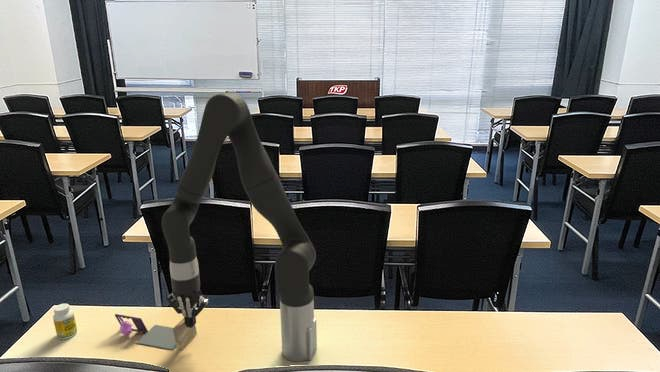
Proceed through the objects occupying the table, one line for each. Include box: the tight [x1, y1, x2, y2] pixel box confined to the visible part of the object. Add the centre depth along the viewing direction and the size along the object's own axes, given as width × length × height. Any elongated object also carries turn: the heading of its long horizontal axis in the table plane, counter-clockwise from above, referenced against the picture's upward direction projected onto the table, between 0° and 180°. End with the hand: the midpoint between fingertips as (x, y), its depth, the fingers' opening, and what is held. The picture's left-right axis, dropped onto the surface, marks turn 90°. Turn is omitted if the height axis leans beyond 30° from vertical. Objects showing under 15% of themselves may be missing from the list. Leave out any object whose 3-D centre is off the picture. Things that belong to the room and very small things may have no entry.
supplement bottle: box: [52, 303, 78, 340], centre depth 135 cm, size 5×5×10 cm
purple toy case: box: [114, 313, 149, 340], centre depth 135 cm, size 7×5×9 cm
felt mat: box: [136, 324, 177, 351], centre depth 134 cm, size 12×9×1 cm
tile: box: [172, 317, 198, 351], centre depth 132 cm, size 2×8×7 cm, turn 165°
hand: (190, 326), depth 130 cm, fingers closed
